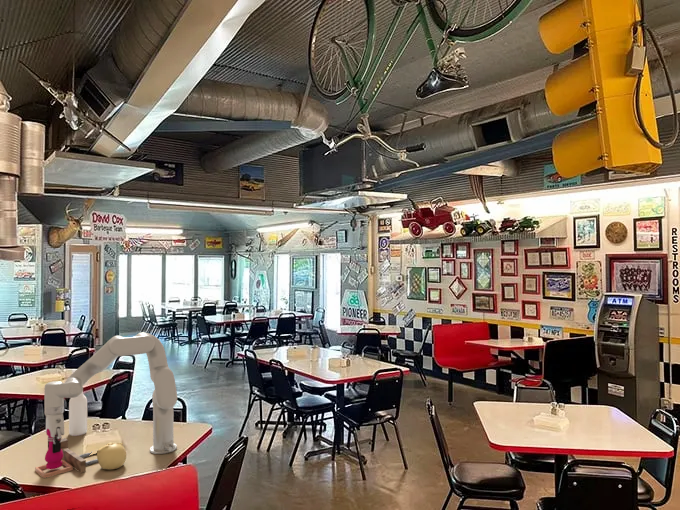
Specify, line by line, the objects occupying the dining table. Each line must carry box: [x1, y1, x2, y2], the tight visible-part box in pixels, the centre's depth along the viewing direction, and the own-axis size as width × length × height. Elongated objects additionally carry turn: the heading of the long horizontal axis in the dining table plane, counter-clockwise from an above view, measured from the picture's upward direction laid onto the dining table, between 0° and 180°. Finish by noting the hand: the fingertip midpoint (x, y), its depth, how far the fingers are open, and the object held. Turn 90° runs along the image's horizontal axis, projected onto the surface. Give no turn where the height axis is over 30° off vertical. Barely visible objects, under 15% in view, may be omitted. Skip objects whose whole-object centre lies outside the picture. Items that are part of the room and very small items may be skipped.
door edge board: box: [61, 437, 87, 474], centre depth 231 cm, size 28×4×8 cm, turn 48°
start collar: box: [78, 451, 99, 467], centre depth 235 cm, size 12×12×2 cm
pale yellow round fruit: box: [96, 442, 127, 470], centre depth 227 cm, size 11×12×11 cm
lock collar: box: [34, 460, 74, 479], centre depth 223 cm, size 12×12×2 cm
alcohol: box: [68, 390, 88, 437], centre depth 272 cm, size 9×9×30 cm
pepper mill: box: [44, 429, 63, 470], centre depth 224 cm, size 7×7×20 cm
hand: (54, 450), depth 224 cm, fingers closed on pepper mill, 5 cm apart
